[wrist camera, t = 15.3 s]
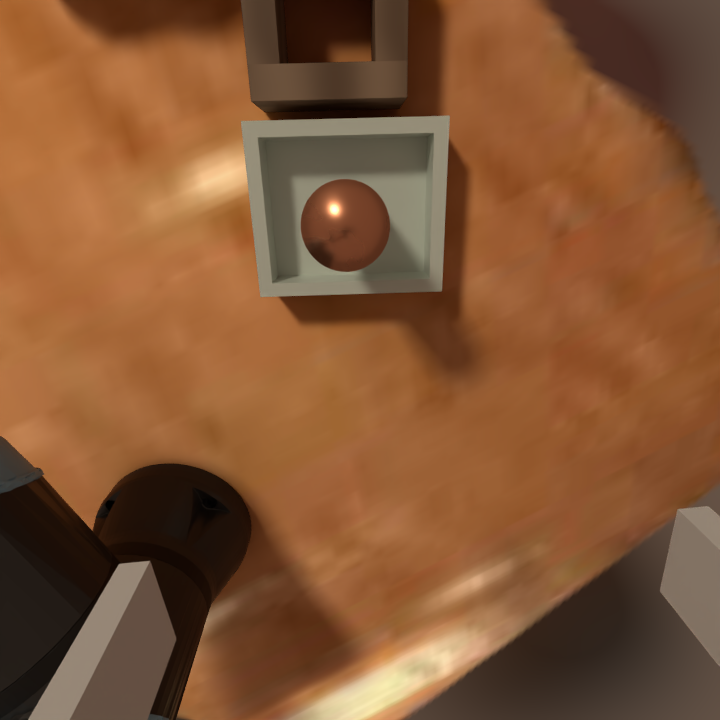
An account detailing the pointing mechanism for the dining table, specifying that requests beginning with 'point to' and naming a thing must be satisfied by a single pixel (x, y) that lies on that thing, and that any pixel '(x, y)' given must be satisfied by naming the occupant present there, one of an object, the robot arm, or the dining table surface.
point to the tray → (357, 162)
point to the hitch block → (325, 64)
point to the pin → (345, 225)
